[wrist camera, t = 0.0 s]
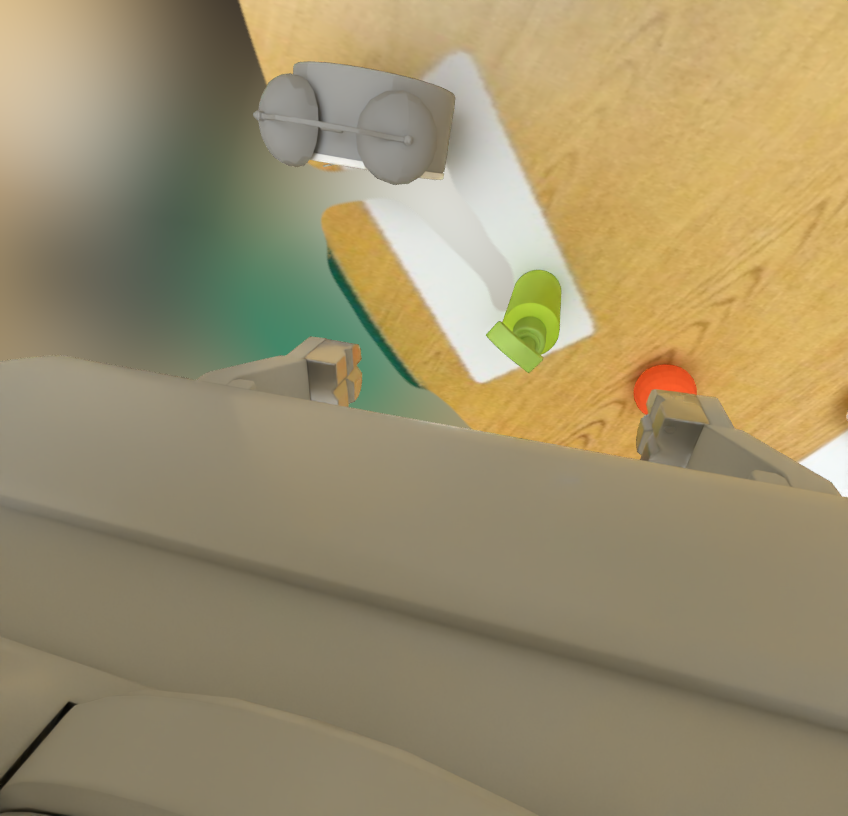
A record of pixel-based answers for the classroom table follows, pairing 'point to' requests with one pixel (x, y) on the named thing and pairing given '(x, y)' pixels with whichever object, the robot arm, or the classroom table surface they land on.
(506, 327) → the soap dispenser
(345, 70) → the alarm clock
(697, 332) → the classroom table surface
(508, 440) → the robot arm
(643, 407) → the clementine
